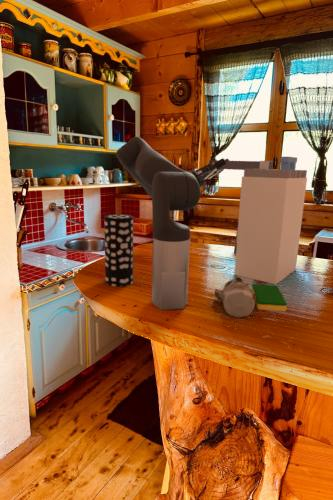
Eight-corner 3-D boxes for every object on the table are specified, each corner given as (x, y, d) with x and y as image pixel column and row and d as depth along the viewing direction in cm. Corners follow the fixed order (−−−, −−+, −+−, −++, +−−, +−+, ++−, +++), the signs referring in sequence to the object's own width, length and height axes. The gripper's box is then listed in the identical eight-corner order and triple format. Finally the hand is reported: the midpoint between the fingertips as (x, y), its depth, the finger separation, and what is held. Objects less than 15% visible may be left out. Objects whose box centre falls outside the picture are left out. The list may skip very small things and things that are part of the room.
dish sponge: (257, 310, 86) (258, 301, 85) (251, 291, 99) (252, 283, 99) (286, 312, 85) (287, 303, 84) (276, 293, 98) (277, 285, 98)
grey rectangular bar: (271, 170, 116) (272, 161, 115) (268, 170, 113) (269, 160, 112) (215, 168, 128) (215, 159, 128) (210, 168, 126) (211, 159, 125)
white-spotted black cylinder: (136, 279, 106) (137, 215, 101) (126, 288, 98) (126, 219, 93) (112, 276, 108) (111, 213, 103) (100, 284, 100) (99, 217, 95)
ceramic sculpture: (219, 284, 77) (214, 268, 92) (216, 320, 79) (212, 299, 93) (266, 287, 76) (254, 271, 91) (262, 323, 78) (251, 301, 93)
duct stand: (295, 269, 120) (309, 157, 111) (275, 284, 104) (289, 155, 95) (258, 262, 128) (268, 157, 119) (234, 274, 113) (243, 155, 103)
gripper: (177, 174, 129) (213, 150, 118) (197, 173, 140) (231, 152, 129) (184, 192, 128) (221, 170, 117) (204, 190, 139) (239, 170, 128)
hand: (226, 160), depth 123 cm, fingers closed on grey rectangular bar, 3 cm apart
